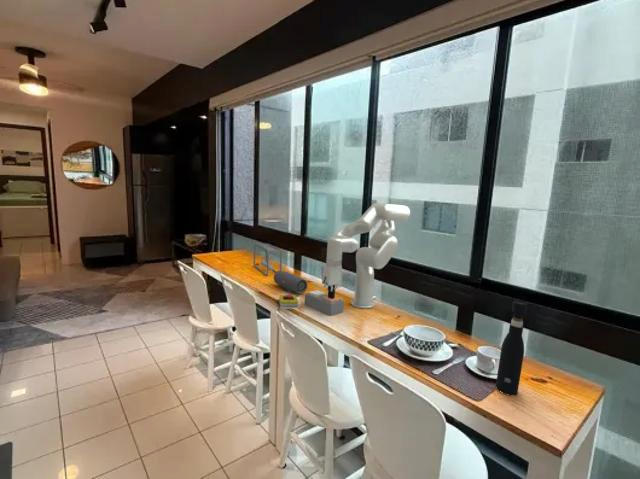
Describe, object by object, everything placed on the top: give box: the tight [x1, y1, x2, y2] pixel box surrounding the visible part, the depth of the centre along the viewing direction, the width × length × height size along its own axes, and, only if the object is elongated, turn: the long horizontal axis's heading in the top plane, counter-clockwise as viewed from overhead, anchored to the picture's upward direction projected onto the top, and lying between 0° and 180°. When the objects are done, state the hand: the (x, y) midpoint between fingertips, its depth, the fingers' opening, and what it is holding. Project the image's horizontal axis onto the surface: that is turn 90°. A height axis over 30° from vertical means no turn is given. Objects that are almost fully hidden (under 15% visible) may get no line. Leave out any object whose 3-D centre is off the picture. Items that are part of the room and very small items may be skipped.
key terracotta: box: [323, 296, 341, 303], centre depth 174 cm, size 6×6×5 cm
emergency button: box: [278, 294, 300, 310], centre depth 182 cm, size 9×4×15 cm
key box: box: [304, 292, 345, 317], centre depth 178 cm, size 9×19×6 cm, turn 44°
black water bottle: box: [495, 300, 528, 396], centre depth 111 cm, size 6×6×30 cm
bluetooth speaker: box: [273, 270, 308, 294], centre depth 205 cm, size 23×9×10 cm, turn 42°
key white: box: [309, 289, 326, 298], centre depth 181 cm, size 6×6×5 cm
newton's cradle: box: [253, 243, 283, 277], centre depth 246 cm, size 30×10×18 cm, turn 28°
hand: (331, 297), depth 174 cm, fingers closed
